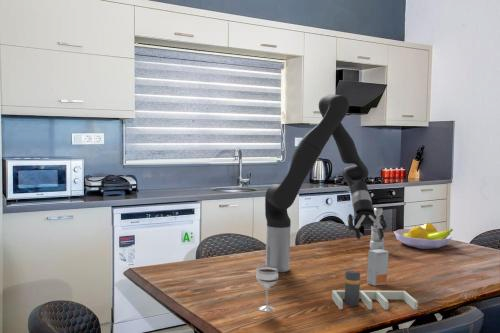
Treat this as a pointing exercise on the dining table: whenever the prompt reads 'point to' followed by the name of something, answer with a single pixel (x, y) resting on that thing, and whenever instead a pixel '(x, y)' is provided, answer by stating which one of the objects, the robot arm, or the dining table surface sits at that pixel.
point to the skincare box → (377, 267)
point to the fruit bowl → (424, 236)
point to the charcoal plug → (352, 288)
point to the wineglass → (267, 282)
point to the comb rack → (378, 295)
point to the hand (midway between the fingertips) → (370, 238)
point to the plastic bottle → (376, 233)
